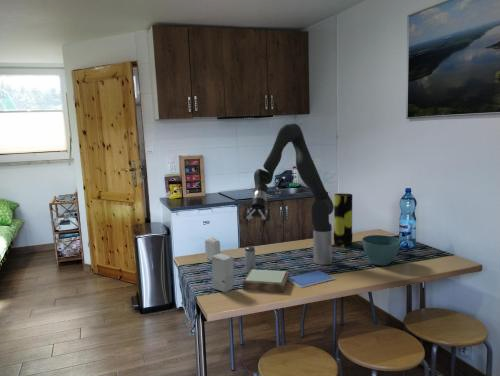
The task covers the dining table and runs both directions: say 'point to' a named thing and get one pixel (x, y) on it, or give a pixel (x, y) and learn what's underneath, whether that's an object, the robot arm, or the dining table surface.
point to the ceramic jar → (249, 258)
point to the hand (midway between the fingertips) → (254, 226)
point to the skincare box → (222, 272)
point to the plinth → (266, 280)
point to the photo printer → (211, 247)
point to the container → (343, 219)
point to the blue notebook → (310, 279)
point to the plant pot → (380, 248)
